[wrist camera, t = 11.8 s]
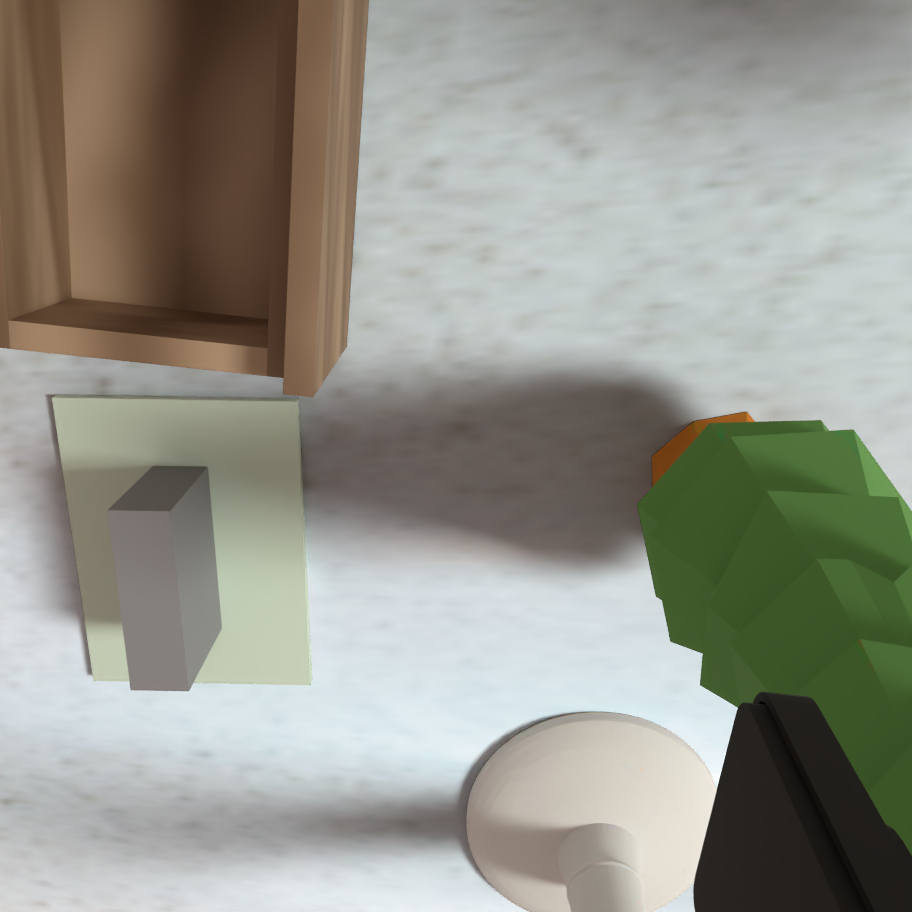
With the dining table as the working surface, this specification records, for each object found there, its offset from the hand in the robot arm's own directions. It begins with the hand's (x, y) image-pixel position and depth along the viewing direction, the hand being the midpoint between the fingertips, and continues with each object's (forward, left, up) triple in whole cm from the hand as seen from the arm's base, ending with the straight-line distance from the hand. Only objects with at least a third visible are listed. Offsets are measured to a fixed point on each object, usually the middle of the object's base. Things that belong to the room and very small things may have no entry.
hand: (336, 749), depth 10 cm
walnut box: (+10, -6, -27) cm, 29 cm away
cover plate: (+10, +11, -28) cm, 31 cm away
